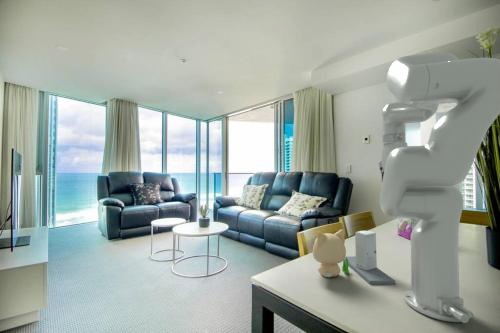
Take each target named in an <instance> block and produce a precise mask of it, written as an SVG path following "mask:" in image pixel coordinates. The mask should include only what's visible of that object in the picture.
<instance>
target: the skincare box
mask: <svg viewBox="0 0 500 333" xmlns="http://www.w3.org/2000/svg"><path fill="white" fill-rule="evenodd" d="M354 234H355V237H354V238H355V239H354V240H355V248H354V249H355V256H356V267H358V268H361V269H363V270H370V269H373V268H376V267H377V266H378V264H377V260H378V259H377V234H376V232H375V231H371V230H359V231H355V233H354ZM377 268H378V267H377Z"/></svg>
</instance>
